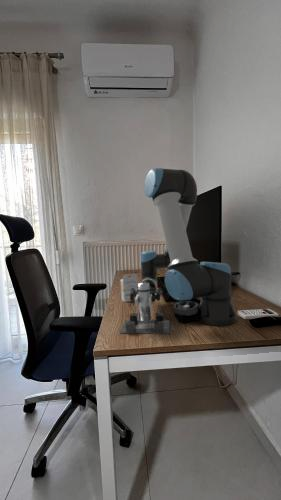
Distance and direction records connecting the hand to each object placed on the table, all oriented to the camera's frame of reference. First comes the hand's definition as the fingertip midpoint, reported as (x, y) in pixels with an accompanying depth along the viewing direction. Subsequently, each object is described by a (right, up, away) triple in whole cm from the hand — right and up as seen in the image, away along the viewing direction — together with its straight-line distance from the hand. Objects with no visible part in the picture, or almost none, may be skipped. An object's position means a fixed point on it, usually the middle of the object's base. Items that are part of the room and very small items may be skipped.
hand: (142, 302), depth 88 cm
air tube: (+1, -8, +6) cm, 10 cm away
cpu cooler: (+19, -9, +13) cm, 24 cm away
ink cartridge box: (-7, -9, +45) cm, 46 cm away
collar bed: (+1, -11, +6) cm, 12 cm away
